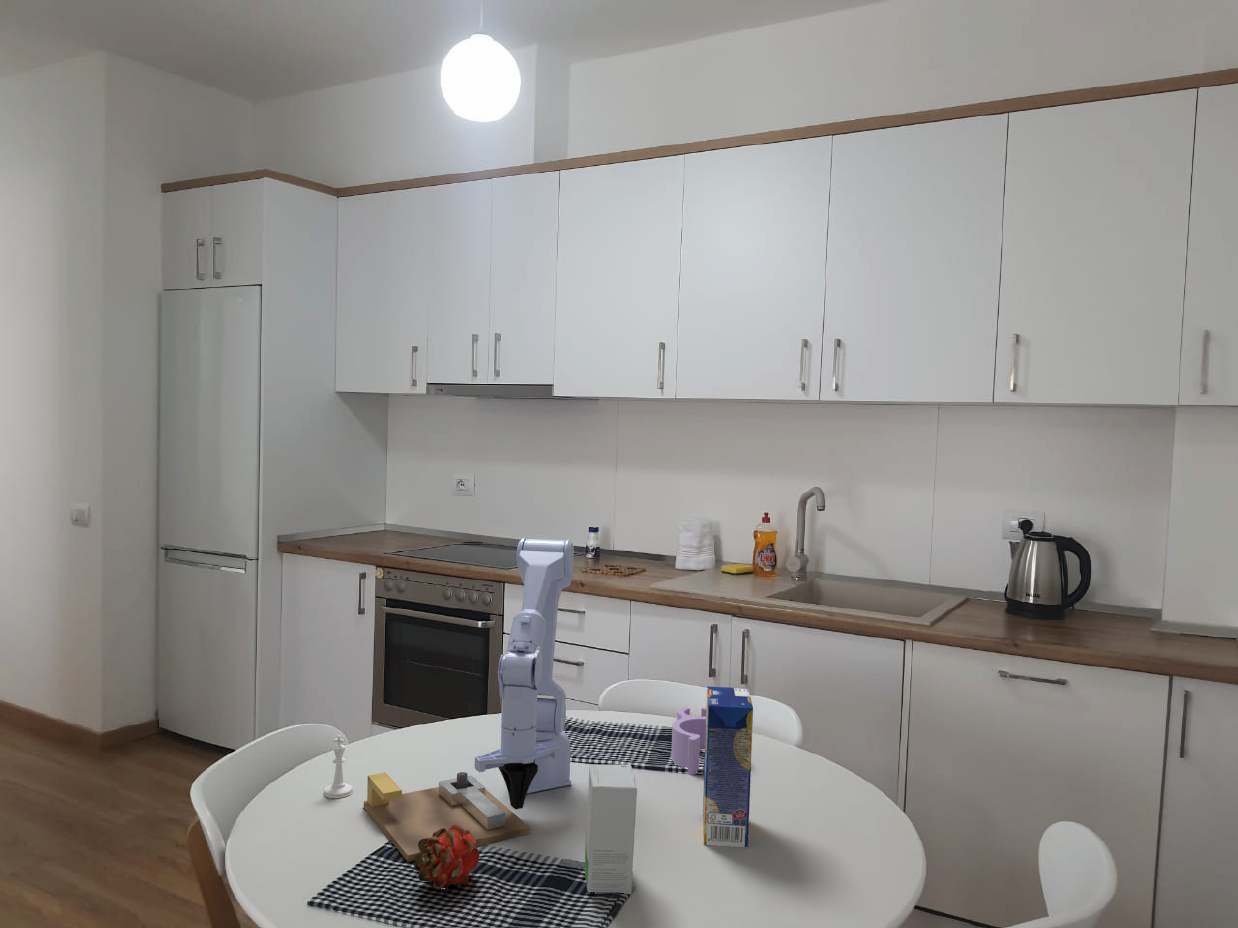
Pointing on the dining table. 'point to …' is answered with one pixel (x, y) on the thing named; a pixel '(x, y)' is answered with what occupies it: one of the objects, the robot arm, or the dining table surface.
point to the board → (437, 819)
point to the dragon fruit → (447, 857)
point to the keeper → (381, 789)
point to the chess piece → (338, 775)
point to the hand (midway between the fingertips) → (516, 806)
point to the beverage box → (727, 766)
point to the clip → (688, 739)
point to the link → (473, 801)
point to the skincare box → (610, 828)
